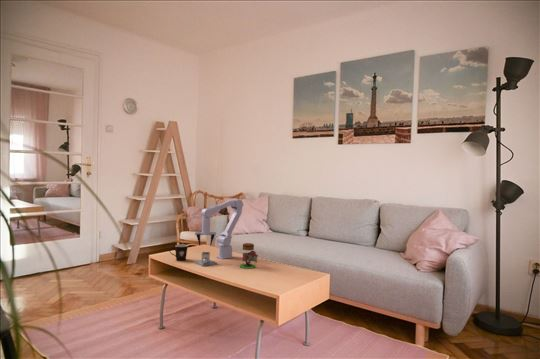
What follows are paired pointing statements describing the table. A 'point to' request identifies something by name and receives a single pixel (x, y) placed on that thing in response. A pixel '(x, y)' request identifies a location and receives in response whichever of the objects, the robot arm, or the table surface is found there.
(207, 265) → the panel
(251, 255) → the miniature tree model
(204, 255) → the elbow
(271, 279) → the table surface
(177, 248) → the coffee mug
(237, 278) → the table surface
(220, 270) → the table surface
